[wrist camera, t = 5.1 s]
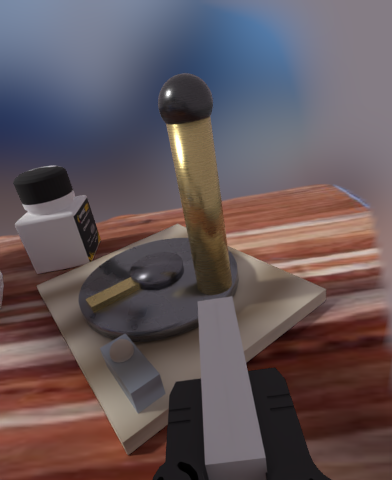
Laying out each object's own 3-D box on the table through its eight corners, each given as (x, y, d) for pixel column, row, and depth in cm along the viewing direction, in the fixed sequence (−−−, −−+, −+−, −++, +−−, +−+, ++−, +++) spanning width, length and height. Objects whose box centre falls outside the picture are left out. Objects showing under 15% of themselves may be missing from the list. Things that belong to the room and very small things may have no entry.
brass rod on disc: (63, 289, 33) (-13, 110, 26) (181, 235, 40) (150, 81, 33) (123, 375, 22) (20, 99, 14) (273, 279, 29) (259, 59, 21)
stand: (40, 294, 36) (26, 264, 34) (179, 231, 45) (173, 205, 43) (128, 455, 19) (108, 410, 17) (325, 300, 28) (326, 260, 26)
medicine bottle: (92, 264, 41) (58, 171, 35) (36, 275, 40) (-6, 183, 35) (101, 240, 47) (74, 158, 42) (53, 249, 47) (20, 168, 42)
